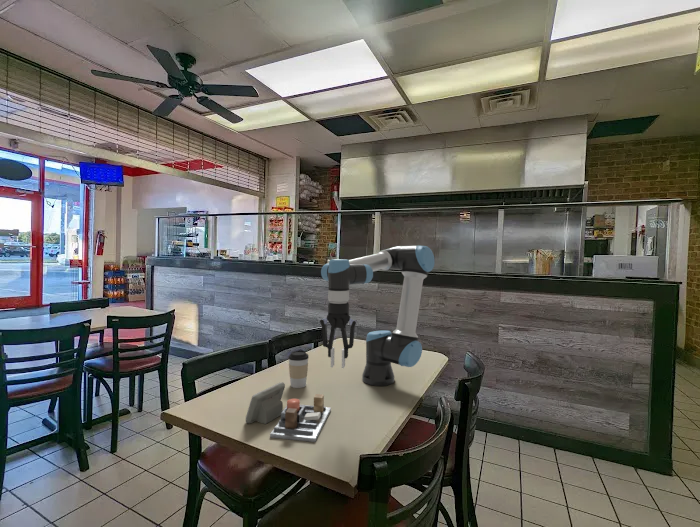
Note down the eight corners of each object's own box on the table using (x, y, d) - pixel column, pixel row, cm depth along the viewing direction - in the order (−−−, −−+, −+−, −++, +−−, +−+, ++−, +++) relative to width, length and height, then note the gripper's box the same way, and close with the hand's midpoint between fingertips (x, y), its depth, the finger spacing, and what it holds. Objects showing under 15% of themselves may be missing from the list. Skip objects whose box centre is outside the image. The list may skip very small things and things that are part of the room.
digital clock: (277, 405, 133) (277, 378, 132) (292, 413, 127) (292, 384, 126) (239, 420, 120) (239, 391, 120) (254, 429, 115) (254, 398, 114)
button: (301, 407, 122) (301, 399, 121) (297, 413, 117) (297, 404, 117) (289, 406, 122) (289, 398, 122) (285, 411, 118) (285, 403, 118)
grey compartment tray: (330, 410, 129) (330, 399, 129) (315, 442, 107) (315, 428, 107) (292, 407, 131) (292, 396, 131) (270, 437, 110) (270, 423, 110)
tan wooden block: (323, 410, 126) (323, 394, 126) (321, 413, 123) (321, 397, 123) (315, 409, 127) (316, 393, 127) (313, 413, 124) (313, 397, 124)
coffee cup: (304, 389, 149) (304, 355, 148) (285, 387, 150) (285, 354, 150) (311, 382, 157) (311, 350, 157) (292, 380, 159) (292, 348, 159)
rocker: (320, 415, 120) (320, 411, 120) (318, 419, 117) (318, 415, 117) (307, 416, 120) (306, 413, 120) (304, 420, 118) (304, 417, 118)
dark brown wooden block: (296, 425, 114) (297, 408, 114) (294, 430, 111) (294, 412, 111) (288, 425, 115) (288, 408, 115) (285, 429, 112) (285, 412, 112)
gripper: (362, 301, 125) (361, 364, 126) (319, 299, 128) (318, 361, 128) (359, 304, 118) (358, 371, 118) (313, 302, 120) (313, 368, 121)
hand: (337, 366), depth 123 cm, fingers open, 3 cm apart
